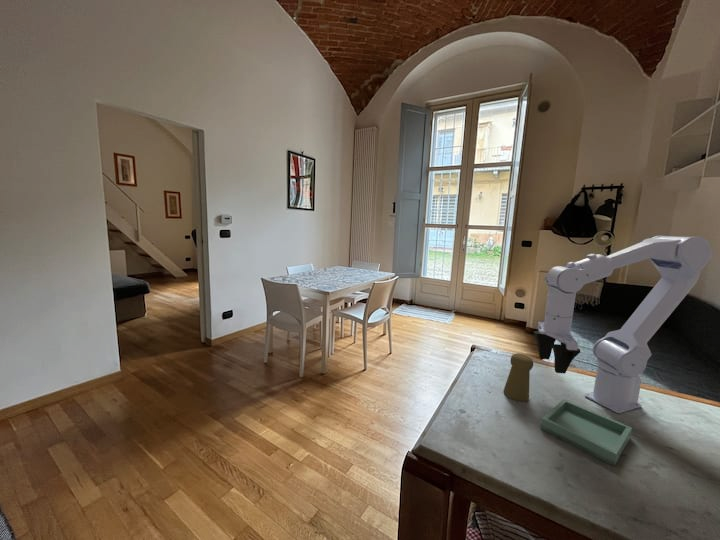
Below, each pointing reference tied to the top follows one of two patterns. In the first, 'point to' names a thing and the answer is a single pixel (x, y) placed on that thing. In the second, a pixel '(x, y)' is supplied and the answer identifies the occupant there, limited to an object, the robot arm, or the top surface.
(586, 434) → the tray
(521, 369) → the cork
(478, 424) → the top surface
